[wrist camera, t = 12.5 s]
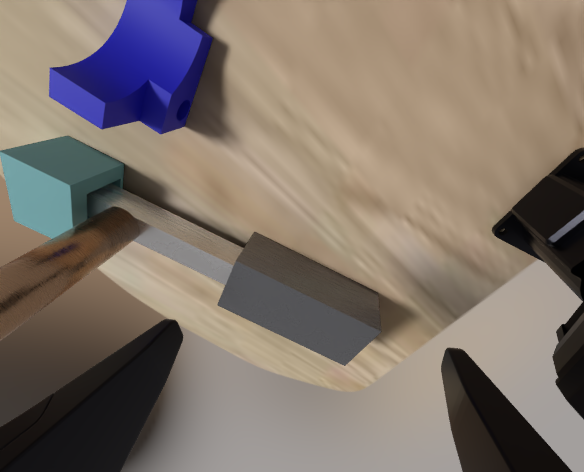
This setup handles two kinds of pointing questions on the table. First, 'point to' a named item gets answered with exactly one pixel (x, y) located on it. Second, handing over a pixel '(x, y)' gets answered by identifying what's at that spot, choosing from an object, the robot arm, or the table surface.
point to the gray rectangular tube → (301, 300)
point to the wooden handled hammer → (106, 252)
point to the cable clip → (139, 69)
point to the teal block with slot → (55, 182)
